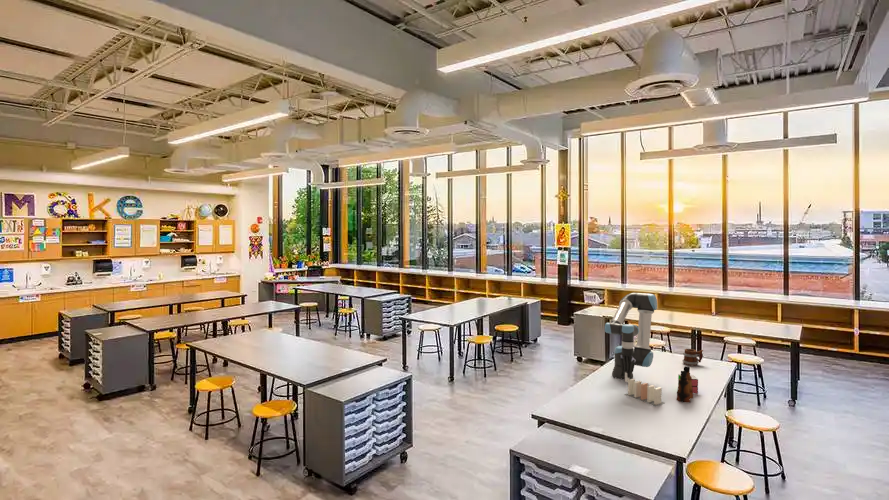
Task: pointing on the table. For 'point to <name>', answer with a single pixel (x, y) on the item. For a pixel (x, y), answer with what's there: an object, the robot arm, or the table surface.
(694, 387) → the puzzle cube
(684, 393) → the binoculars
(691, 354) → the mug
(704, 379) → the table surface
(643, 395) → the domino gap
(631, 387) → the domino
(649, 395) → the domino
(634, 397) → the mat
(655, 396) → the domino
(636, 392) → the domino
